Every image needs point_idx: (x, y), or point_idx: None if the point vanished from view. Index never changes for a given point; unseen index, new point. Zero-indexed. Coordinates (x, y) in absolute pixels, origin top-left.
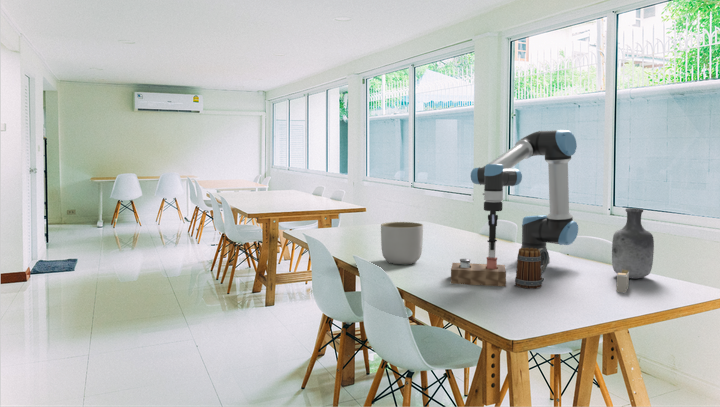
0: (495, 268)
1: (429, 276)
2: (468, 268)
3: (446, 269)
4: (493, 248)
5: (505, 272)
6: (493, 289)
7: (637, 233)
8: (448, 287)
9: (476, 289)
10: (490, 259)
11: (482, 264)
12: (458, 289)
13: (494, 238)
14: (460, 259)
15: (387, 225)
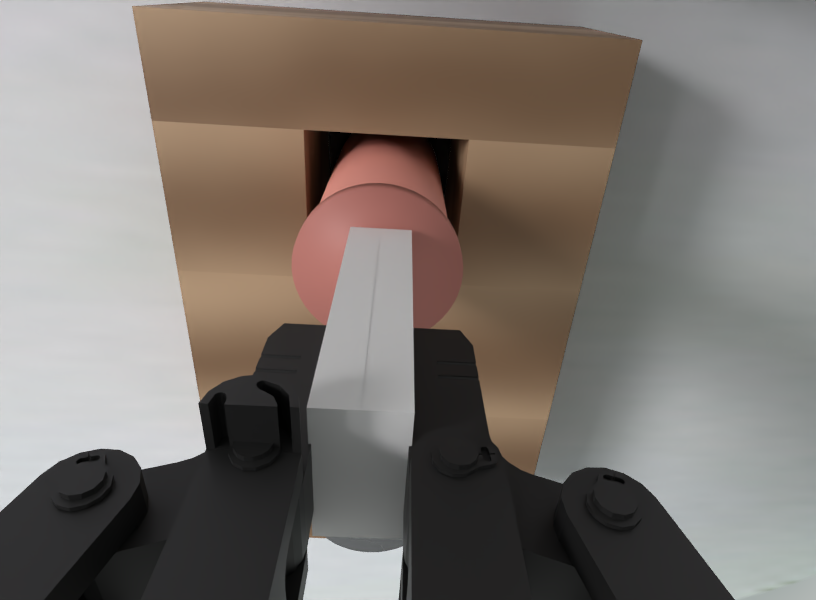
0: (427, 169)
1: (309, 552)
2: None
3: (37, 474)
4: (473, 360)
5: (635, 47)
6: (690, 166)
7: None
8: (605, 463)
9: (676, 302)
10: (456, 291)
11: (215, 303)
12: (664, 412)
13: (697, 593)
14: (370, 547)
15: None
